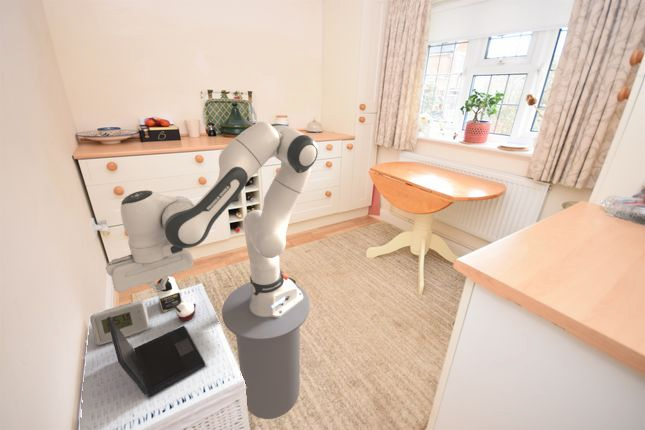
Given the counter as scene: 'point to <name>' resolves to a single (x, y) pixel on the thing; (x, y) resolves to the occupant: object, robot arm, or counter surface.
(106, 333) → the digital clock
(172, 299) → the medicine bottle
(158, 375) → the laptop
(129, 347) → the laptop screen
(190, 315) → the cupcake
